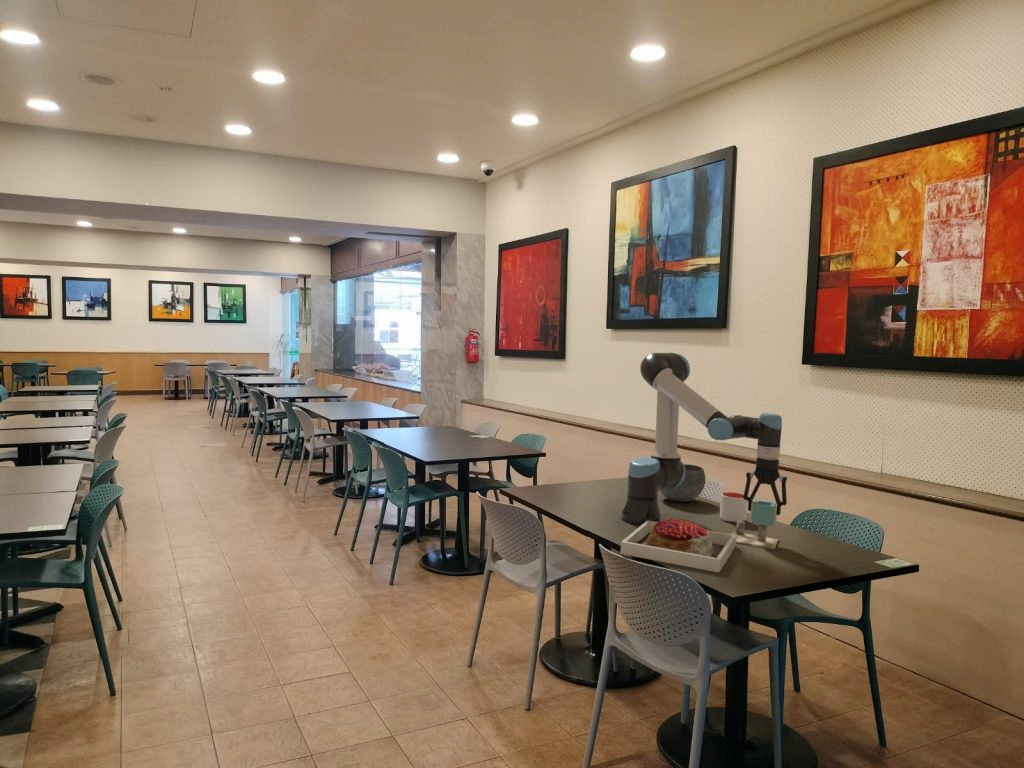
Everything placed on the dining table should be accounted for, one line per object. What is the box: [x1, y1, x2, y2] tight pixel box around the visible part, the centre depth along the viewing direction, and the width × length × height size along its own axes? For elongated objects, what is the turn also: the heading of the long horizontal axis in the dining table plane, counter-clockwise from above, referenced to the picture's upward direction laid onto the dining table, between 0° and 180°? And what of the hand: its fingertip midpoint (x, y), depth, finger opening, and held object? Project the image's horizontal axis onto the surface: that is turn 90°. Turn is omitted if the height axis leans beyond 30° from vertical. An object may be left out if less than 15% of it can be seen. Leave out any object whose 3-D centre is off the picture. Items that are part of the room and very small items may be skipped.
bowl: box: [658, 463, 706, 503], centre depth 308 cm, size 21×21×15 cm
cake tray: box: [620, 520, 737, 573], centre depth 237 cm, size 31×31×4 cm
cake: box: [634, 518, 714, 557], centre depth 234 cm, size 23×24×10 cm
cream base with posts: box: [730, 521, 779, 550], centre depth 251 cm, size 16×12×9 cm
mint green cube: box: [750, 499, 777, 527], centre depth 249 cm, size 7×7×7 cm
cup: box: [719, 491, 748, 524], centre depth 279 cm, size 10×10×10 cm
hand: (763, 521), depth 250 cm, fingers closed on mint green cube, 7 cm apart
